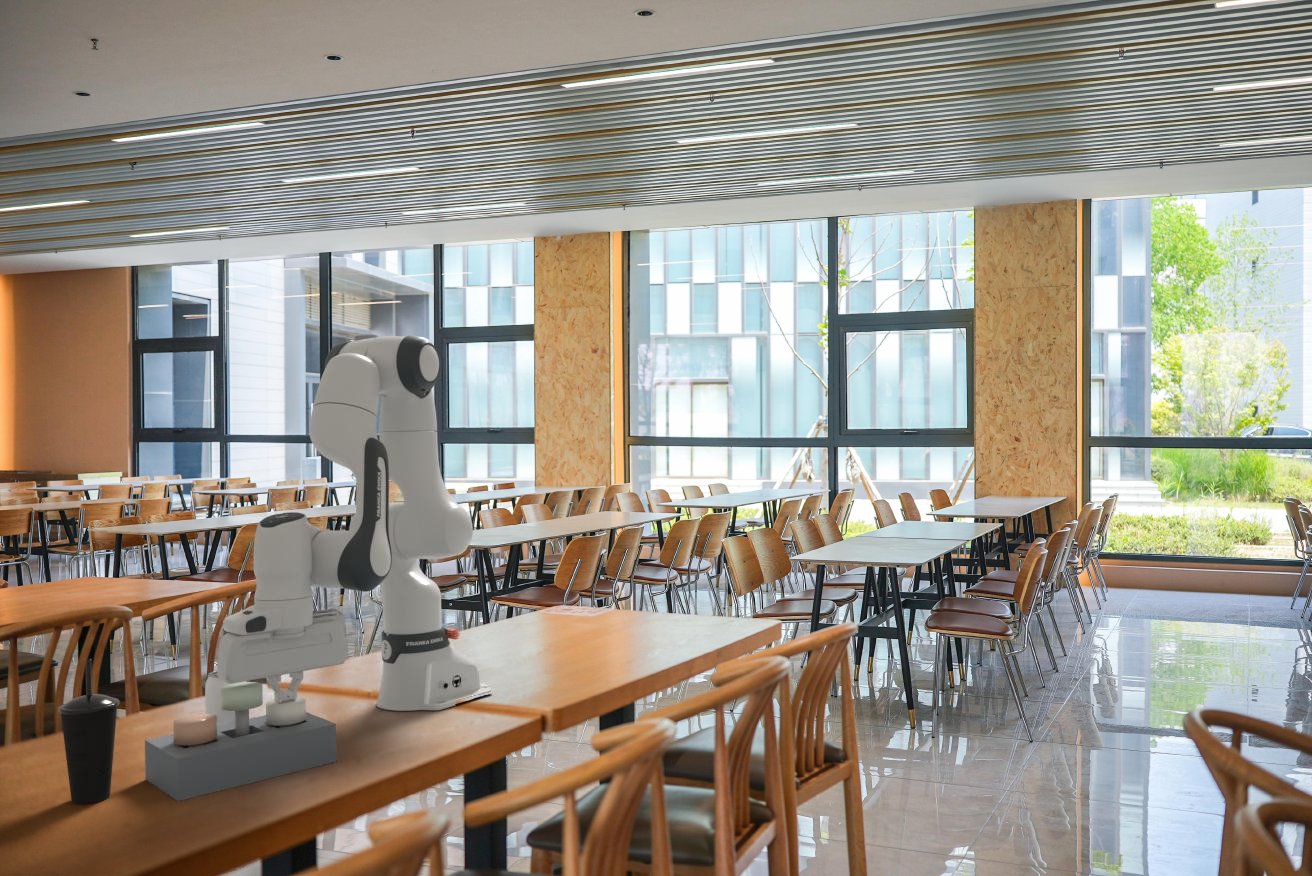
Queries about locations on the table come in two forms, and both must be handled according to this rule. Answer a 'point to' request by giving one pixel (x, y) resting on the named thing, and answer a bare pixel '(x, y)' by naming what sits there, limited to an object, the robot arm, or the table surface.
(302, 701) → the knob
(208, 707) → the can
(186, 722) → the knob
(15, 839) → the table surface
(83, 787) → the drinking cup
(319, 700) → the table surface
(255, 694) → the knob mid
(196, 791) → the mount
